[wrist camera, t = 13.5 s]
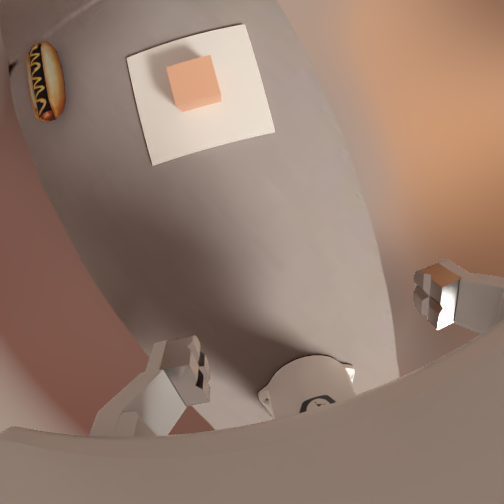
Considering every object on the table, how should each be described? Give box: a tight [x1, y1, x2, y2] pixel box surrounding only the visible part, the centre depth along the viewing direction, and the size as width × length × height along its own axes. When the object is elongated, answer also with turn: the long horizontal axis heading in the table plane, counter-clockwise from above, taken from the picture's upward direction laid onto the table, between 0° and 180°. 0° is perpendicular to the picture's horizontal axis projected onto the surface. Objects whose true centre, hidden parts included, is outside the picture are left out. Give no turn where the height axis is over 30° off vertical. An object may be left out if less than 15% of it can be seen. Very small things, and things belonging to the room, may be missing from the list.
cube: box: [166, 55, 222, 112], centre depth 29 cm, size 5×5×5 cm
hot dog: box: [26, 42, 66, 122], centre depth 26 cm, size 5×13×5 cm, turn 17°
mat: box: [127, 24, 275, 166], centre depth 31 cm, size 16×16×1 cm
